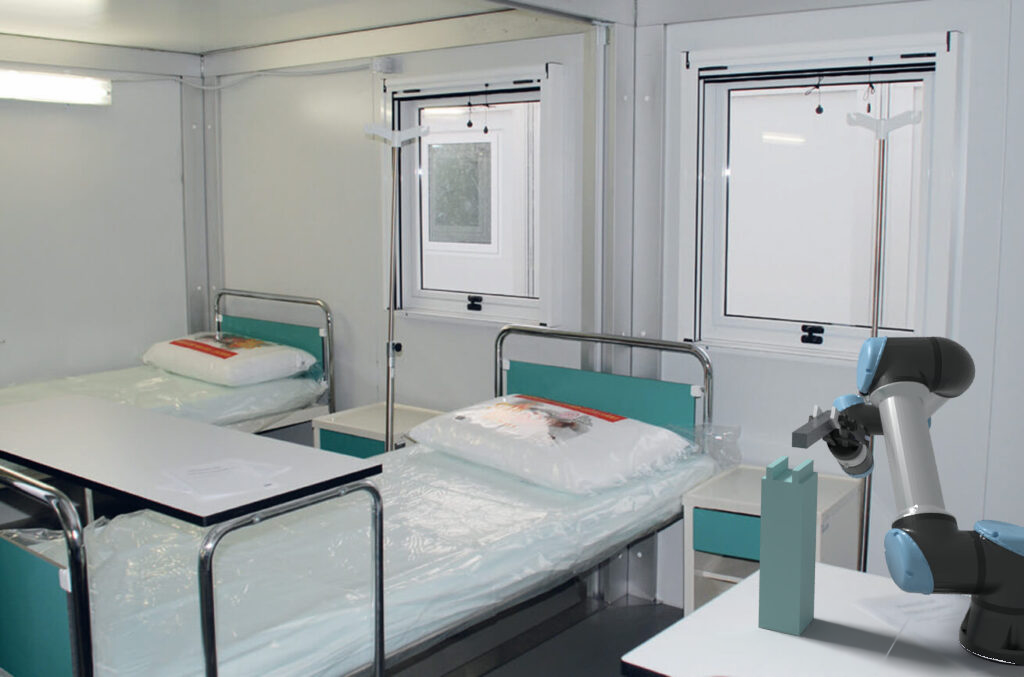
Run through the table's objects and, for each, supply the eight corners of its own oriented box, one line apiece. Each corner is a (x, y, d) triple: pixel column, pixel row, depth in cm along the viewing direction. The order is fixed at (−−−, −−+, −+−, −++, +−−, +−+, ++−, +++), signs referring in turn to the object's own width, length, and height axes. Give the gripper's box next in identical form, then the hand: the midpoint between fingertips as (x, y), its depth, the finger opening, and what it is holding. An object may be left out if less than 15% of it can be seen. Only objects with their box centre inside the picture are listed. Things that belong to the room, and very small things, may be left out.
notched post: (774, 609, 204) (778, 455, 200) (813, 618, 199) (818, 460, 195) (758, 627, 195) (761, 466, 191) (798, 636, 191) (803, 471, 187)
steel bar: (826, 423, 221) (827, 410, 221) (840, 424, 219) (841, 411, 219) (791, 447, 199) (792, 432, 199) (806, 448, 198) (807, 434, 197)
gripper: (880, 465, 226) (860, 432, 207) (809, 457, 234) (783, 424, 216) (885, 434, 228) (865, 398, 210) (814, 427, 237) (789, 392, 218)
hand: (824, 411), depth 213 cm, fingers closed on steel bar, 3 cm apart
